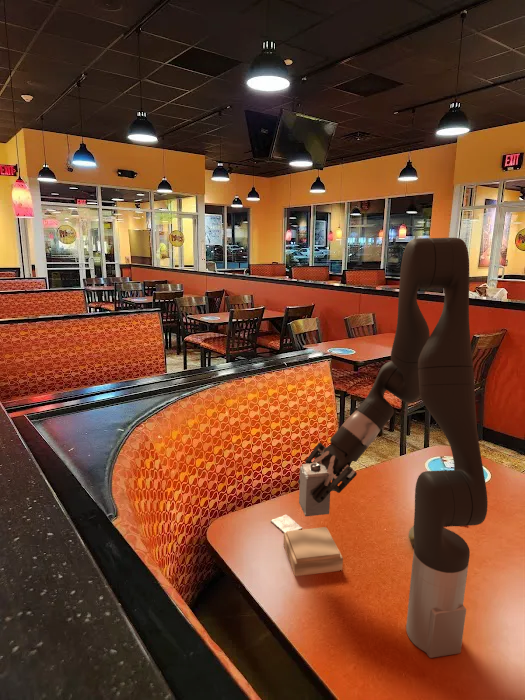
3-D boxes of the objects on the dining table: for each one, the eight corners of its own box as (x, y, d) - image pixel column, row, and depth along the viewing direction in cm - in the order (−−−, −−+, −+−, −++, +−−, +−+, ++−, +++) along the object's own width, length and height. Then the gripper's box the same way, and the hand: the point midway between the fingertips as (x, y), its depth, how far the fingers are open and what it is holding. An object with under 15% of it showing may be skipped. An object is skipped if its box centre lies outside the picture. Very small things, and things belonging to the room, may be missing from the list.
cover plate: (302, 531, 117) (302, 527, 117) (286, 537, 115) (286, 534, 114) (286, 517, 123) (286, 514, 123) (270, 523, 120) (270, 520, 120)
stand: (342, 570, 102) (343, 554, 101) (294, 576, 100) (295, 560, 99) (326, 539, 113) (327, 525, 112) (283, 544, 111) (283, 530, 110)
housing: (329, 514, 102) (331, 470, 99) (305, 516, 101) (306, 472, 98) (321, 500, 107) (323, 459, 104) (299, 502, 106) (300, 461, 103)
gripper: (329, 415, 109) (283, 469, 107) (364, 439, 96) (313, 500, 94) (347, 432, 112) (303, 485, 110) (383, 457, 99) (334, 518, 97)
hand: (308, 492), depth 102 cm, fingers closed on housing, 6 cm apart
